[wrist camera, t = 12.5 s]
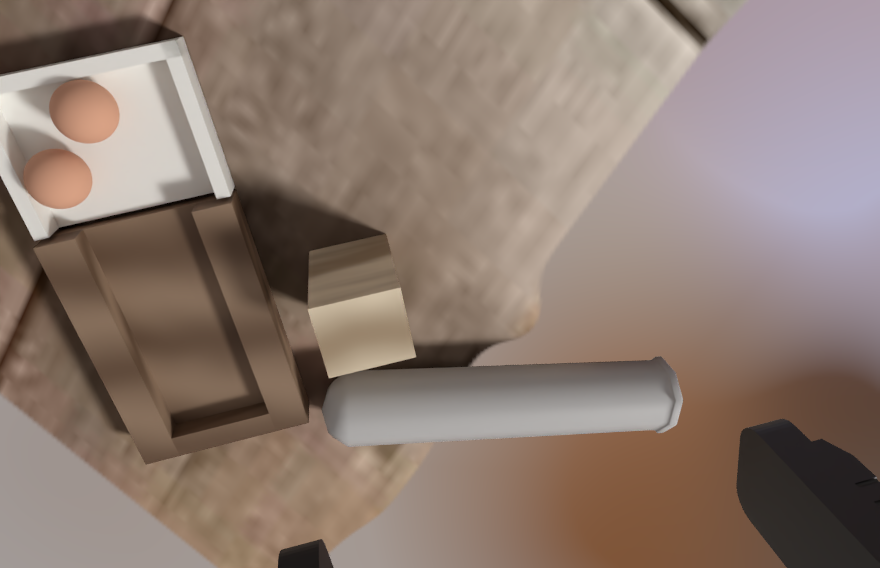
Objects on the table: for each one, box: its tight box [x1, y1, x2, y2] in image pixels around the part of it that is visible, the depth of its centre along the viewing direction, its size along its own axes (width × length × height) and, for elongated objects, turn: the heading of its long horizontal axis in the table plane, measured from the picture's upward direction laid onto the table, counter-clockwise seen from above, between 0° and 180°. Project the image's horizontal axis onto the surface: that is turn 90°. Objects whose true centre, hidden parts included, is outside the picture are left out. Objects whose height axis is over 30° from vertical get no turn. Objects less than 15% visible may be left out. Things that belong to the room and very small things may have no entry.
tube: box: [322, 357, 683, 447], centre depth 46 cm, size 5×5×25 cm
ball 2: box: [23, 149, 93, 209], centre depth 34 cm, size 3×3×3 cm
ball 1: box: [49, 80, 120, 144], centre depth 33 cm, size 3×3×3 cm
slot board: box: [33, 190, 309, 464], centre depth 40 cm, size 16×11×2 cm
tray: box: [0, 36, 235, 241], centre depth 35 cm, size 8×11×2 cm
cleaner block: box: [308, 234, 416, 378], centre depth 38 cm, size 4×5×8 cm
